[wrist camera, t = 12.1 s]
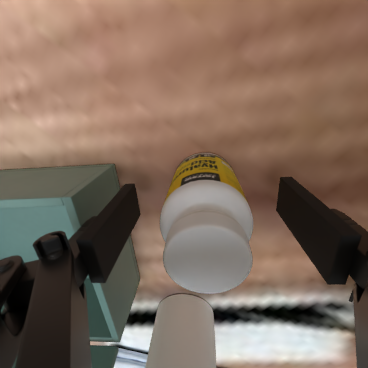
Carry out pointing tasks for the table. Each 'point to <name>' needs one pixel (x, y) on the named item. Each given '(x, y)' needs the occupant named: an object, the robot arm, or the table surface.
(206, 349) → the cylindrical container
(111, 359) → the lid
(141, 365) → the folded bicycle print towel
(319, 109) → the table surface
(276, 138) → the table surface
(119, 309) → the chest
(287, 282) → the table surface
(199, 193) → the supplement bottle
